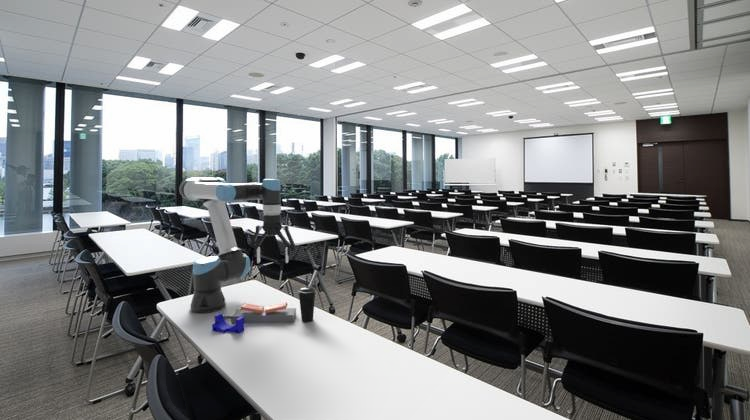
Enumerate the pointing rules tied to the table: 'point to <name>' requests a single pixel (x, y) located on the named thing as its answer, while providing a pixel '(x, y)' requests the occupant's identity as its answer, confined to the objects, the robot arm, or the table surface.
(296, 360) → the table surface
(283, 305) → the rocker
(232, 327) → the cable clip
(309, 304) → the drinking cup
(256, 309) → the rocker
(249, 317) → the power strip
